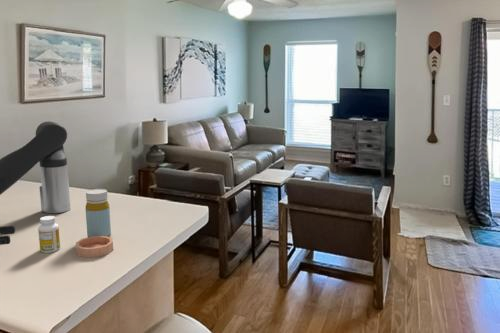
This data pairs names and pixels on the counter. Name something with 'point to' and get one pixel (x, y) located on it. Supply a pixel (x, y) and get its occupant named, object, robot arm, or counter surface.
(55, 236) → the supplement bottle
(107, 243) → the terracotta dish
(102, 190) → the bottle
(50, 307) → the counter surface
